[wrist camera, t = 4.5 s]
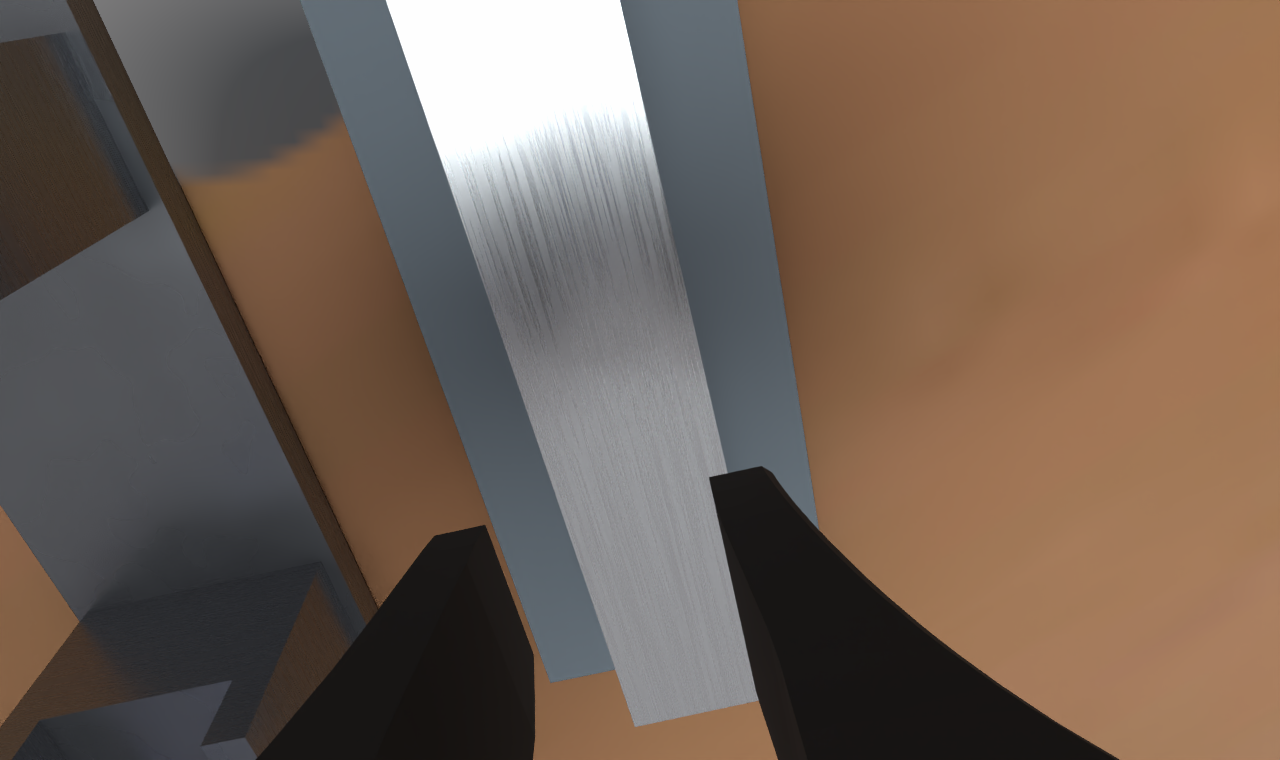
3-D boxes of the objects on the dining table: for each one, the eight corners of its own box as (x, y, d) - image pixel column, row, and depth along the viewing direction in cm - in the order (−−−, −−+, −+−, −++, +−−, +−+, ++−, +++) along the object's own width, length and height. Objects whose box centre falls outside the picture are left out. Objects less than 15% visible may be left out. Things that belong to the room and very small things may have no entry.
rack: (403, 663, 21) (348, 878, 16) (172, 711, 22) (50, 936, 17) (73, -40, 14) (-198, -33, 9) (-264, 46, 14) (-703, 96, 10)
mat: (827, 607, 21) (833, 624, 21) (551, 664, 22) (550, 682, 21) (688, -276, 13) (693, -286, 13) (252, -163, 14) (238, -168, 13)
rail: (628, 624, 20) (753, 596, 20) (635, 727, 18) (778, 696, 18) (380, -147, 13) (569, -200, 13) (327, -171, 11) (565, -238, 10)
